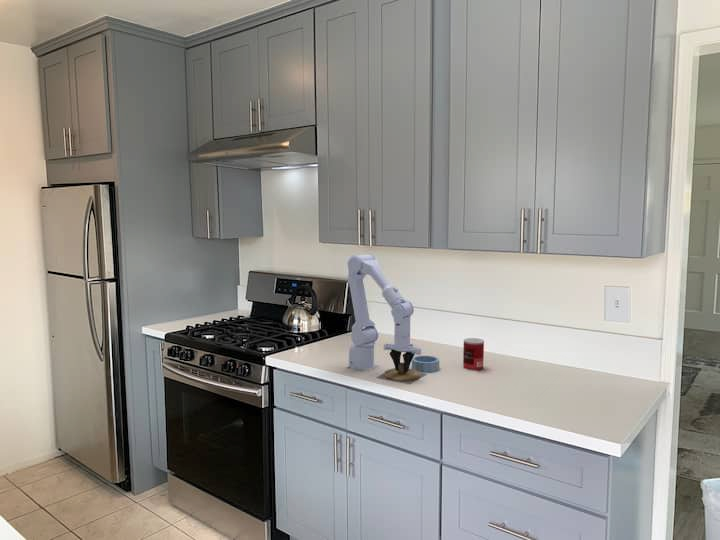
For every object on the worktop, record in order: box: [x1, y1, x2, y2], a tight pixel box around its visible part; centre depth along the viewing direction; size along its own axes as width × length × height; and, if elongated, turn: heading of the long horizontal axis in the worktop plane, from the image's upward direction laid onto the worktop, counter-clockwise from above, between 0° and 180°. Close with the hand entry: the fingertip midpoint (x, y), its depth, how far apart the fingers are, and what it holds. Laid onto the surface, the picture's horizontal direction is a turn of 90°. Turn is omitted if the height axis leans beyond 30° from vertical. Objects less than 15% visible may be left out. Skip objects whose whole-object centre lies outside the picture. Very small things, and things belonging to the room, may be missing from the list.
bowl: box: [411, 354, 440, 373], centre depth 211 cm, size 10×10×4 cm
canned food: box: [462, 337, 485, 371], centre depth 213 cm, size 8×8×11 cm
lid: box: [383, 362, 421, 382], centre depth 201 cm, size 13×13×5 cm
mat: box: [376, 372, 428, 385], centre depth 202 cm, size 14×14×1 cm
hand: (402, 371), depth 202 cm, fingers closed on lid, 3 cm apart
